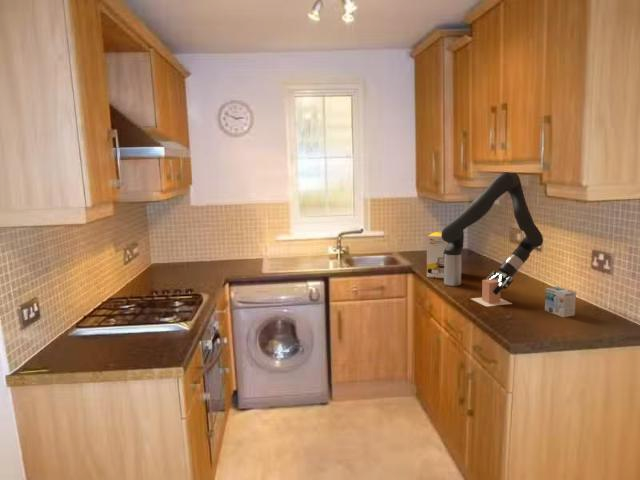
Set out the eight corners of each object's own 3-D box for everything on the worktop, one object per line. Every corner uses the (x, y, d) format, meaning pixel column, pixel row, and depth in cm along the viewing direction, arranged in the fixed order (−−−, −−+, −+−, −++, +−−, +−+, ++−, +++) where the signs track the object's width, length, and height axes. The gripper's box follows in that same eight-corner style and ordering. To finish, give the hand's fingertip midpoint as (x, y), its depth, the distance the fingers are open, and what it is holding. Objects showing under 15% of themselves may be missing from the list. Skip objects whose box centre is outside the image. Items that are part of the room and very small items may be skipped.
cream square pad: (470, 299, 231) (470, 298, 231) (495, 296, 234) (495, 295, 234) (486, 307, 218) (486, 306, 217) (512, 304, 221) (512, 303, 220)
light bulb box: (544, 310, 210) (545, 287, 208) (555, 308, 212) (556, 285, 211) (563, 317, 200) (565, 293, 199) (575, 315, 203) (576, 291, 201)
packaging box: (459, 273, 287) (460, 233, 283) (454, 279, 273) (454, 236, 269) (433, 271, 295) (433, 232, 291) (426, 276, 280) (426, 235, 276)
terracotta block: (481, 299, 228) (482, 280, 226) (492, 298, 229) (493, 279, 228) (488, 303, 222) (489, 282, 221) (500, 302, 223) (500, 281, 222)
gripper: (497, 258, 231) (476, 282, 231) (515, 263, 218) (493, 290, 217) (506, 268, 233) (485, 292, 233) (525, 274, 219) (503, 299, 219)
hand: (489, 291), depth 225 cm, fingers open, 8 cm apart
